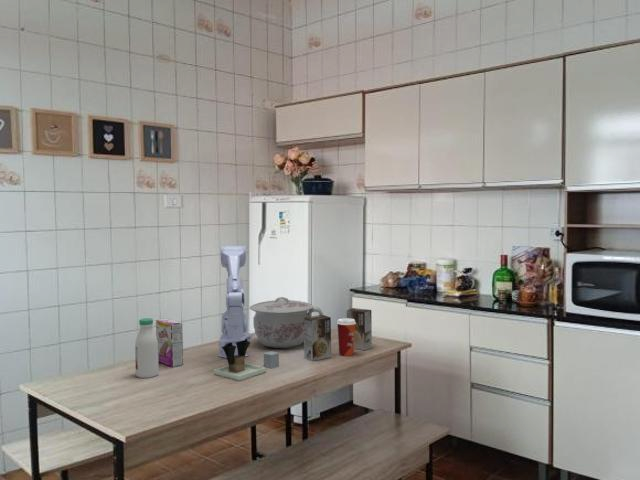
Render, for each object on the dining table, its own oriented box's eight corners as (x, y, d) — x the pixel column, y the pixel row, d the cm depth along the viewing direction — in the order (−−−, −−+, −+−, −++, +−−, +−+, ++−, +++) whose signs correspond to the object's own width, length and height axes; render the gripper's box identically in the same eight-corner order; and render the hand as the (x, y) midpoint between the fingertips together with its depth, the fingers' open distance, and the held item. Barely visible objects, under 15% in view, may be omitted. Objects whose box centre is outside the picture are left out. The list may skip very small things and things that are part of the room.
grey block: (263, 366, 211) (263, 353, 210) (271, 364, 214) (271, 351, 213) (271, 368, 208) (271, 355, 208) (278, 366, 211) (278, 352, 211)
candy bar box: (155, 362, 217) (155, 319, 216) (167, 359, 221) (166, 318, 220) (172, 367, 209) (171, 323, 209) (183, 365, 213) (182, 321, 212)
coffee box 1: (322, 354, 228) (322, 314, 227) (331, 357, 223) (331, 316, 222) (303, 357, 223) (303, 316, 222) (312, 361, 218) (312, 319, 217)
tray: (213, 374, 201) (213, 369, 201) (240, 366, 211) (240, 361, 211) (239, 381, 193) (239, 376, 193) (265, 372, 203) (265, 367, 203)
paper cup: (354, 357, 223) (354, 322, 222) (335, 356, 225) (335, 321, 224) (357, 352, 231) (357, 318, 230) (338, 351, 232) (338, 317, 231)
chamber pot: (236, 345, 243) (235, 297, 242) (282, 334, 263) (281, 290, 262) (283, 356, 224) (282, 304, 223) (328, 344, 245) (327, 296, 244)
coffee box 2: (372, 347, 238) (372, 309, 237) (365, 350, 233) (365, 312, 232) (353, 344, 243) (353, 307, 243) (346, 347, 238) (345, 309, 237)
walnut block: (228, 370, 203) (228, 357, 203) (237, 368, 207) (236, 354, 206) (236, 372, 201) (236, 358, 201) (244, 370, 204) (244, 356, 204)
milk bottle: (163, 373, 203) (161, 317, 202) (149, 379, 196) (148, 321, 194) (144, 371, 205) (143, 316, 204) (131, 377, 198) (129, 320, 197)
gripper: (228, 329, 195) (228, 368, 196) (257, 323, 206) (258, 359, 207) (214, 327, 199) (214, 365, 200) (244, 320, 211) (244, 356, 211)
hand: (236, 362), depth 204 cm, fingers open, 4 cm apart
